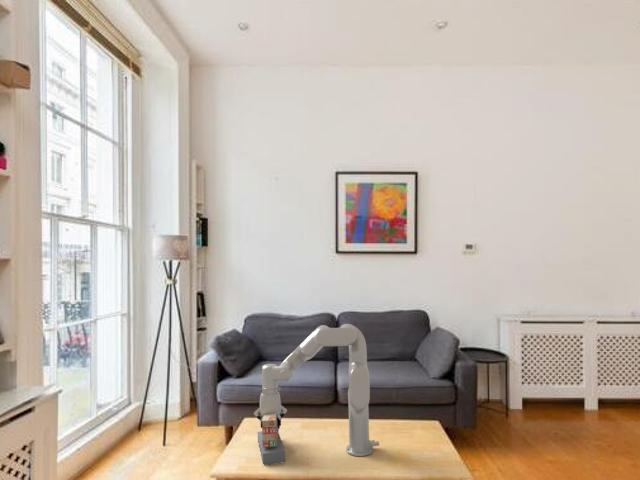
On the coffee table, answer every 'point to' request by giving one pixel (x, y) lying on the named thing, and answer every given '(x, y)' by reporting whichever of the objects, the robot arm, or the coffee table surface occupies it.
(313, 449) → the coffee table surface
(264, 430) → the stack of blocks
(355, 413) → the robot arm
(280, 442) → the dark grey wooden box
